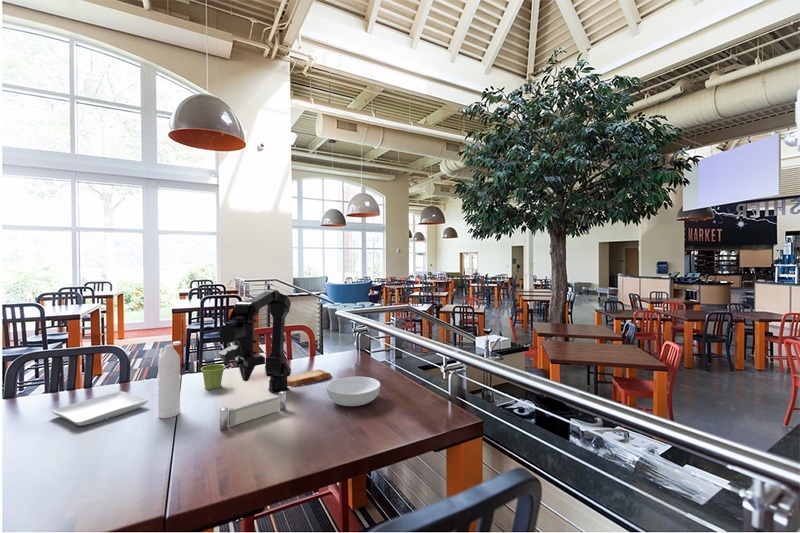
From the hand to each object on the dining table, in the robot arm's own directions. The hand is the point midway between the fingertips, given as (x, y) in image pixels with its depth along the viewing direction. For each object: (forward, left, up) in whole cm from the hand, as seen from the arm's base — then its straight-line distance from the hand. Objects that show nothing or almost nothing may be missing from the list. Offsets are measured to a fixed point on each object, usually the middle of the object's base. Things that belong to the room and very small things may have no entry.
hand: (245, 380), depth 124 cm
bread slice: (-36, -16, -13) cm, 41 cm away
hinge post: (-11, +6, -12) cm, 17 cm away
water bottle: (+18, -20, -12) cm, 30 cm away
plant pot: (-2, -38, -12) cm, 40 cm away
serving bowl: (-34, +19, -12) cm, 41 cm away
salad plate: (+35, -39, -13) cm, 54 cm away
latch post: (+9, +6, -12) cm, 16 cm away
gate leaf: (-1, +6, -12) cm, 13 cm away
